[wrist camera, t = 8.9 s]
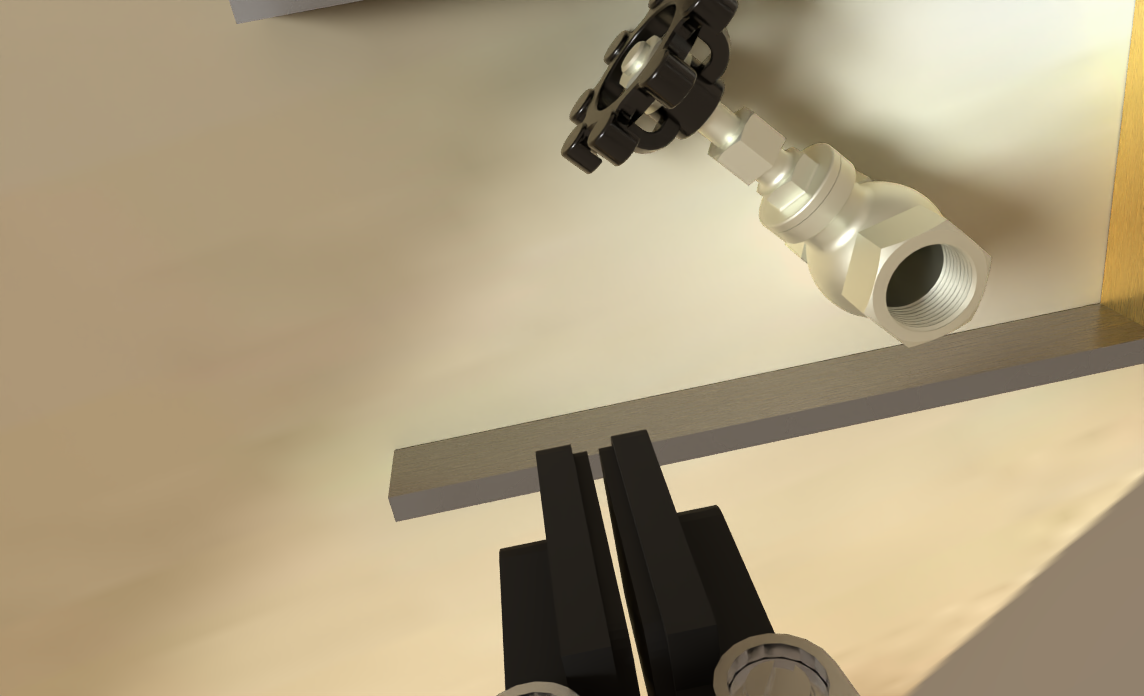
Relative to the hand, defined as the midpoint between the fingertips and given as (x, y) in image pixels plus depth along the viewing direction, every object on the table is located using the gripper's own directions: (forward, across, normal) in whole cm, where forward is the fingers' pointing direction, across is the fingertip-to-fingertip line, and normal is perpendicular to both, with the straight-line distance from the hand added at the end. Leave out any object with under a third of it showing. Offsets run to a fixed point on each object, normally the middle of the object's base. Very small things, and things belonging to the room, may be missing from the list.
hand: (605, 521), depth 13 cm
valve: (+17, -8, 0) cm, 19 cm away
